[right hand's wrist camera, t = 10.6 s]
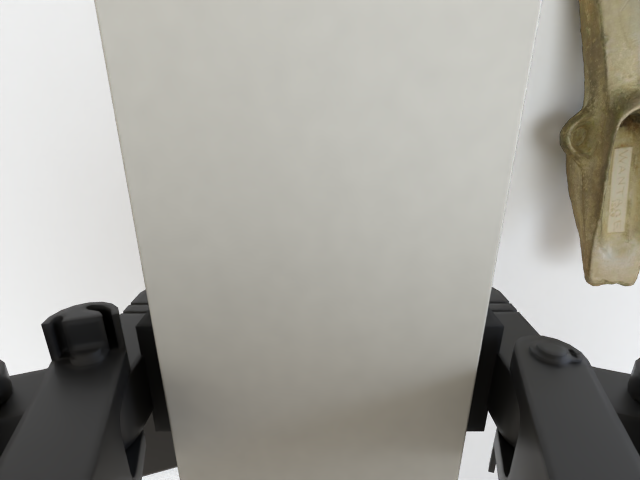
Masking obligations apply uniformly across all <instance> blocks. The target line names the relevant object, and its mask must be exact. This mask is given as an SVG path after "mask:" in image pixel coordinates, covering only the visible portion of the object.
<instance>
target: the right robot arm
mask: <svg viewBox="0 0 640 480" xmlns="http://www.w3.org/2000/svg"><path fill="white" fill-rule="evenodd" d="M41 325H42V329H43V332H44V336H45V339H46V342H47V346H48V349H49V353H50V356H51V359H52V362H51V364H50V365H49V367H48V368H47V369H43V370H38V371H33V372H28V373H23V374H18V375H13V376H9V374H8V371H7V368H6V365H5V363H4V362H3V361H1V360H0V480H142V473H143V466H144V458H145V451H146V440H145V434H144V430H143V428H144V426H145V424H146V422H147V420H148V418H149V416H150V414H151V413H152V415H153V420H154V425H155V430H156V431H171V427H170V421H169V416H168V410H167V404H166V399H165V393H164V388H163V382H162V376H161V371H160V365H159V360H158V354H157V348H156V343H155V337H154V332H153V326H152V320H151V315H150V309H149V304H148V298H147V292H146V290H144V291H143V292H141V293H140V294H139V295H138V296H137V297H136V298H135V299H134V300H133V301H132V302H131V305H129V306H128V307H127V308H126V309H125V310H124V311H123V314H120V315H119V310H118V307H116V306H115V305H113V304H111V303H106V302H89V303H84V304H79V305H75V306H72V307H69V308H66V309H64V310H61V311H59V312H57V313H55V314H54V315H52V316H50V317H49V318H47V319H46V320H45V321H44V322H43V323H42V324H41ZM488 411H489V413H490V415H491V417H492V419H493V420H494V422H495V424H496V426H497V430H496V434H495V439H494V444H493V449H492V453H491V458H490V463H489V470H488V472H492V473H494V470H495V465H497V472H498V479H499V480H640V358H639V359H638V360H636V361H635V364H634V367H633V370H632V373H631V374H627V373H621V372H616V371H611V370H606V369H601V368H596V367H592V366H591V365H590V363H589V361H588V360H587V358H586V357H585V356H584V355H583V354H582V353H581V352H580V351H579V350H577V349H576V348H574V347H573V346H571V345H569V344H567V343H565V342H562V341H560V340H558V339H554V338H550V337H546V336H540V335H539V334H538V333H537V332H536V330H535V329H534V328H533V327H532V326H531V325H530V324H529V323H528V322H527V321H526V319H525V318H524V317H523V316H522V315H521V314H520V313H519V312H517V310H516V309H515V307H514V306H513V305H512V304H509V301H508V300H507V299H506V298H505V297H504V295H503V294H502V293H501V292H500V291H498V290H496V289H495V288H493V287H492V288H491V294H490V299H489V305H488V311H487V316H486V322H485V328H484V333H483V339H482V345H481V350H480V356H479V362H478V367H477V373H476V379H475V384H474V390H473V396H472V401H471V407H470V413H469V418H468V424H467V430H466V431H484V429H485V424H486V418H487V413H488Z"/></svg>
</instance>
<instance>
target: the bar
mask: <svg viewBox="0 0 640 480" xmlns="http://www.w3.org/2000/svg"><path fill="white" fill-rule="evenodd" d="M94 2H95V7H96V13H97V18H98V24H99V30H100V35H101V41H102V46H103V52H104V58H105V63H106V69H107V74H108V80H109V85H110V91H111V97H112V102H113V108H114V113H115V119H116V125H117V130H118V136H119V141H120V147H121V153H122V158H123V164H124V169H125V175H126V181H127V186H128V192H129V197H130V203H131V209H132V214H133V220H134V225H135V231H136V237H137V242H138V248H139V253H140V259H141V264H142V270H143V276H144V281H145V287H146V292H147V298H148V304H149V309H150V315H151V320H152V326H153V332H154V337H155V343H156V348H157V354H158V360H159V365H160V371H161V376H162V382H163V388H164V393H165V399H166V404H167V410H168V416H169V421H170V427H171V432H172V438H173V443H174V449H175V455H176V460H177V466H178V471H179V477H180V480H458V475H459V469H460V464H461V458H462V452H463V447H464V441H465V435H466V430H467V424H468V418H469V413H470V407H471V401H472V396H473V390H474V384H475V379H476V373H477V367H478V362H479V356H480V350H481V345H482V339H483V333H484V328H485V322H486V316H487V311H488V305H489V299H490V294H491V288H492V282H493V277H494V271H495V265H496V260H497V254H498V248H499V243H500V237H501V231H502V226H503V220H504V214H505V209H506V203H507V197H508V192H509V186H510V180H511V175H512V169H513V163H514V158H515V152H516V146H517V141H518V135H519V129H520V124H521V118H522V112H523V107H524V101H525V95H526V90H527V84H528V78H529V73H530V67H531V61H532V56H533V50H534V44H535V39H536V33H537V27H538V22H539V16H540V10H541V5H542V0H94Z"/></svg>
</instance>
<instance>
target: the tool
mask: <svg viewBox="0 0 640 480" xmlns="http://www.w3.org/2000/svg"><path fill="white" fill-rule="evenodd" d="M579 5H580V21H581V30H580V31H581V34H582V44H583V46H582V50H583V60H584V76H585V82H584V85H585V93H584V101H583V107H582V110H581V111H579V112H578V113H577V114H576V115H575V116H573V117H572V118H571V119H570V120H569V121H568V122H567V123H566V124H565V125H564V127H563V128H562V130H561V132H560V145H561V147H562V149H563V150H564V152H565V153H566V173H567V182H568V190H569V196H570V199H571V202H572V208H573V213H574V217H575V221H576V226H577V229H578V232H579V236H580V245H581V252H582V261H583V270H584V275H585V280H586V282H587V283H589V284H590V285H592V286H600V285H603V284H616V283H617V284H620V285H623V286H631V285H634V283H635V281H636V279H637V276H638V274H639V270H640V0H579Z"/></svg>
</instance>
